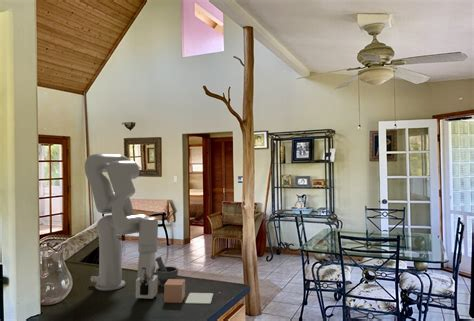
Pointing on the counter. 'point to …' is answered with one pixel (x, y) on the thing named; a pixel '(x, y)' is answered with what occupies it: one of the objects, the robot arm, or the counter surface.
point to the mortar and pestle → (165, 272)
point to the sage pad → (199, 298)
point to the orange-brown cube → (174, 290)
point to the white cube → (151, 287)
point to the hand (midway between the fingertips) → (146, 290)
